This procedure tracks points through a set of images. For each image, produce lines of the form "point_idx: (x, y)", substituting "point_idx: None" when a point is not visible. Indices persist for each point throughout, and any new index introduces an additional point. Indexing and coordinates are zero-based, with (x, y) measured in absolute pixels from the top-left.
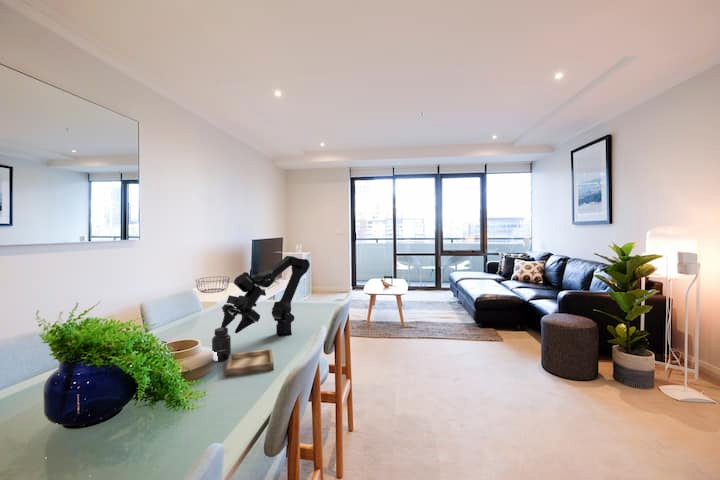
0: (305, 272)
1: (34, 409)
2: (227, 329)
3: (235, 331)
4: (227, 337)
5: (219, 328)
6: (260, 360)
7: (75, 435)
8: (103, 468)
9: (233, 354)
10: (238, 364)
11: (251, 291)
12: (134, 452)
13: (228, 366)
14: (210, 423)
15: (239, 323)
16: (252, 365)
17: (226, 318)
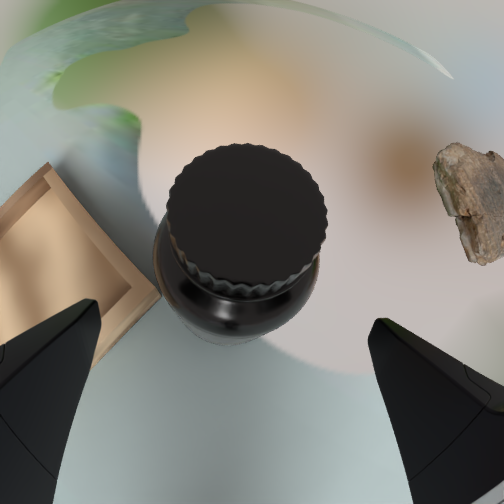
0: None
1: (337, 21)
2: (185, 258)
3: (81, 300)
4: (158, 254)
5: (292, 210)
6: (4, 343)
7: (194, 3)
8: (92, 10)
9: (129, 298)
10: (61, 261)
11: None
12: (77, 23)
13: (55, 184)
14: (6, 81)
15: (21, 356)
16: None
17: (456, 405)
